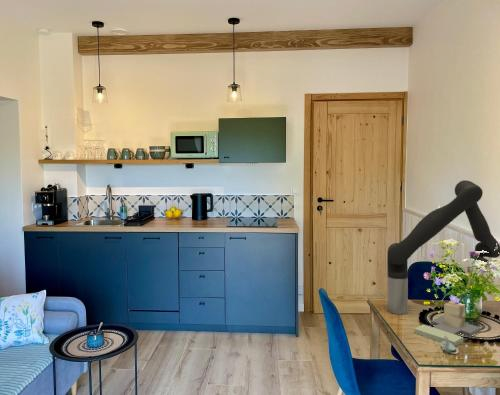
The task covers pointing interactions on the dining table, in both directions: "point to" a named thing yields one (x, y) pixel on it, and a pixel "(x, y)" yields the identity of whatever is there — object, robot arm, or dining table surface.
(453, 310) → the birch block
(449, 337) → the trap deck
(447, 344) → the pacifier
